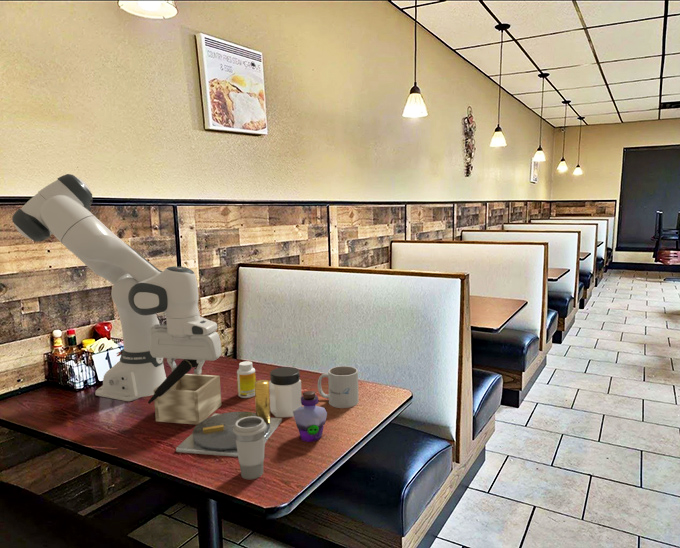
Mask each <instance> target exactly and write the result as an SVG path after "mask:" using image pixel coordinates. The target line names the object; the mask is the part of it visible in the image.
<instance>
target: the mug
mask: <svg viewBox="0 0 680 548" xmlns="http://www.w3.org/2000/svg"><path fill="white" fill-rule="evenodd" d="M323 378H327V379H328V394H327V393H325V392H324V391H323V388H322V380H323ZM317 391H318V393H319V394H320V396H321V397H323V398H324V399H328V404H329V405H330V406H331V407H334V408H339V409H347V408H352V407H355V406H357V405H358V404H359V370H358V368H356V367H354V366H349V365H339V366H338V365H337V366H334V367H331V368H329V369H328V371H327V373H322V374H321V375H319V378H318V380H317Z"/></svg>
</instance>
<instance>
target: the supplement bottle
mask: <svg viewBox="0 0 680 548" xmlns="http://www.w3.org/2000/svg"><path fill="white" fill-rule="evenodd" d="M238 366H239V367H238V369H237V370H236V378H237V379H236V380H237V382H236V383H237V394H238V395H237V396H238V397H240V398H241V399H242V398H243V399H250V398H253V397H255V384H254V383H255V382H256V381H257V379H256V377H257V375H256V369H255V367H253V362H252V361H251V360H250V361H249V360H247V361H242V362H241V361H240V362H239V364H238Z"/></svg>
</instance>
